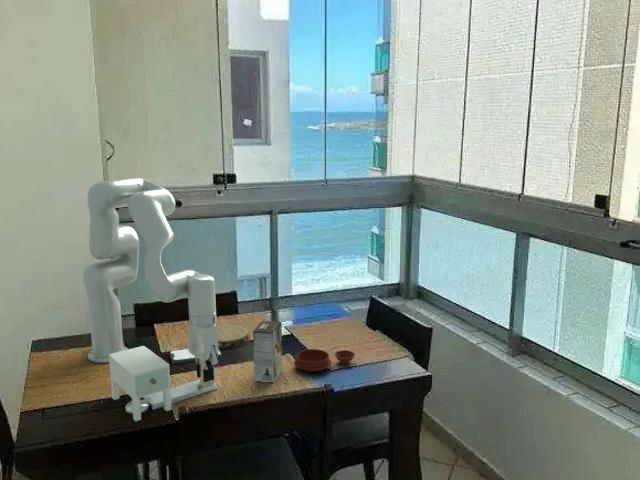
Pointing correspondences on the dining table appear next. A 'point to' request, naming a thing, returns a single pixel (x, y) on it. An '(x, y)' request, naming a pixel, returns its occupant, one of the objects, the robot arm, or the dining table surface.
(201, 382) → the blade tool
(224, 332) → the tan round flat disc
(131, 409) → the steel disc
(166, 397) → the low cabinet
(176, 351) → the phone case
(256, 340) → the coffee box
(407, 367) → the dining table surface
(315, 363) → the pottery
